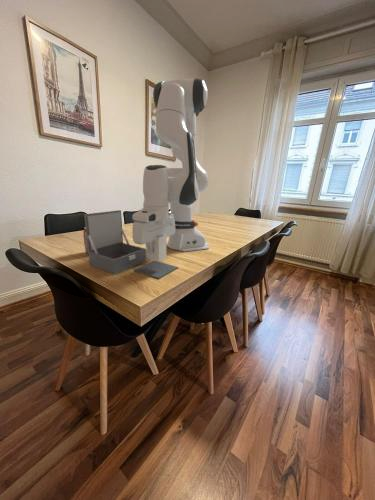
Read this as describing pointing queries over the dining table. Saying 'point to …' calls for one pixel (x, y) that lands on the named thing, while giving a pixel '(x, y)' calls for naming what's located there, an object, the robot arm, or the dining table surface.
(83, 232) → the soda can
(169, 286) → the dining table surface
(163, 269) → the mat
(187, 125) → the robot arm
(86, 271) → the dining table surface
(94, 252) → the case
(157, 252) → the block
